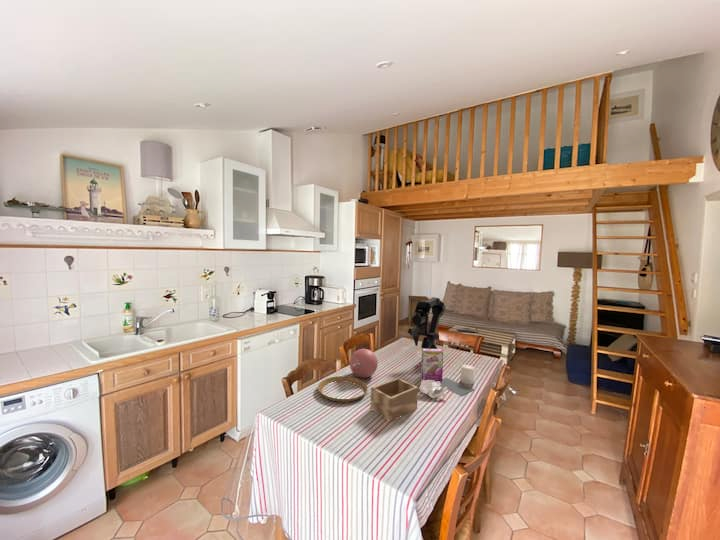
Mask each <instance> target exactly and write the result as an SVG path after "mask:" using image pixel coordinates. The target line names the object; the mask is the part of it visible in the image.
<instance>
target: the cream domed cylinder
mask: <svg viewBox="0 0 720 540" xmlns="http://www.w3.org/2000/svg"><path fill="white" fill-rule="evenodd" d="M475 370H476V367H474V366H472V365H470V364H462V365H461V366H460V377H459V378H460V379H459V381H460V382H461V384H462V383H463V384H464V385H474V384H475Z"/></svg>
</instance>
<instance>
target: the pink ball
mask: <svg viewBox="0 0 720 540" xmlns="http://www.w3.org/2000/svg"><path fill="white" fill-rule="evenodd" d="M378 363H379V362H378V357H377V356H376V354H375V353H374V352H373V351H372V350H370V349H367V348H359V349H357V350H355V351H354V352H353V353H352V354H351V356H350V359H349V368H350V370H351V372H352V374H353V375H355V376H356V377H358V378H361V379H365V378H366V379H367V378H369V377H371V376H373V375H374V374H375V373H376V371H377V370H378Z"/></svg>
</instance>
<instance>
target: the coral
mask: <svg viewBox="0 0 720 540" xmlns="http://www.w3.org/2000/svg"><path fill="white" fill-rule="evenodd" d="M440 385H441V383H440V381H439V382H437V381H433V380H422V379H421V382H420V386H418V390H419V391H420V393H423V394H426V395H428V396H429V397H430V398H431V399H435V401H438V402H439V401H440V400H441V398H442V397H444V398H445V397H447V392H446V391H448V390H447V387H445V388H443V387H441V386H440ZM444 392H445V393H444Z"/></svg>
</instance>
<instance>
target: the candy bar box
mask: <svg viewBox="0 0 720 540" xmlns="http://www.w3.org/2000/svg"><path fill="white" fill-rule="evenodd" d="M443 364H444V350H443V349H440V348H439V349H438V348H437V349H424V348H422V347H421V364H420V367H421V369H420V376H421V381H422V380H424V381H425V380H433V381H435V382H437V381H442V379H443V372H444V371H443V367H444V365H443Z"/></svg>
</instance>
